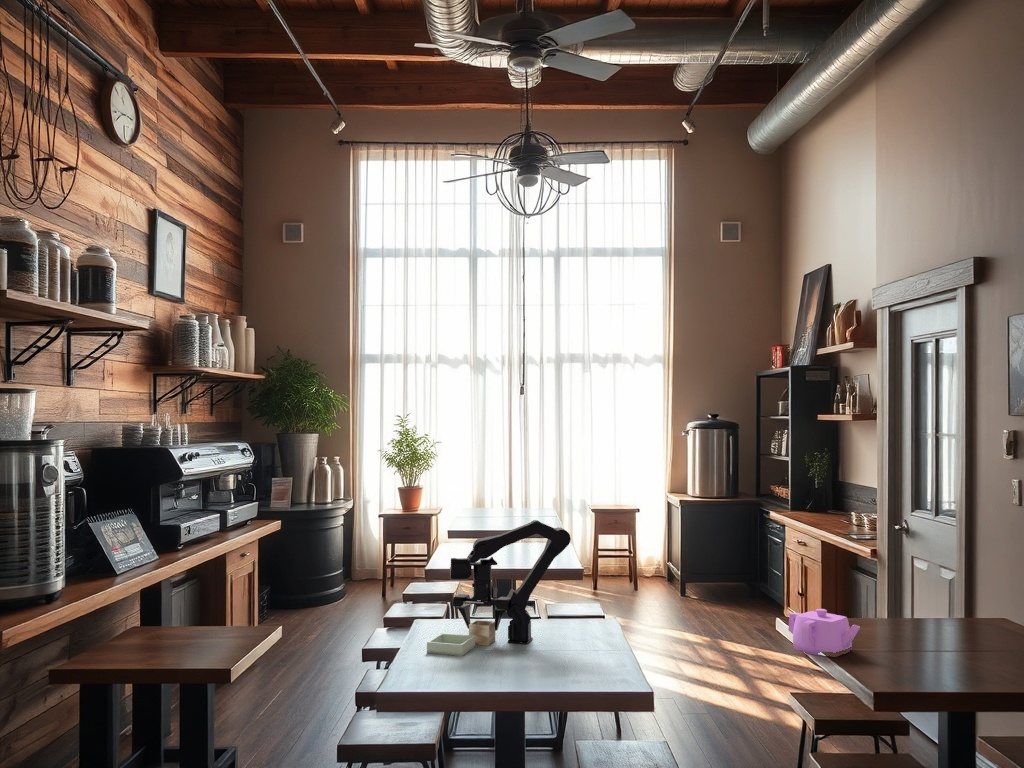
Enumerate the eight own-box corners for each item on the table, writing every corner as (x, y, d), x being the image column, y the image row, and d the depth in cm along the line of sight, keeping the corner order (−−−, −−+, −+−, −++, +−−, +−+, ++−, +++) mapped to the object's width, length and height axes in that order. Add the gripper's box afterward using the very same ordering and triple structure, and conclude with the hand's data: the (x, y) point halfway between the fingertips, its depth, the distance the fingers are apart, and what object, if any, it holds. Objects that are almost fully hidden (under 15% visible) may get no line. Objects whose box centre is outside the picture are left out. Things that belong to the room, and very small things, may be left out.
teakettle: (785, 643, 255) (785, 603, 256) (841, 643, 254) (840, 603, 255) (803, 658, 238) (802, 615, 239) (862, 659, 237) (861, 616, 238)
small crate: (495, 640, 259) (495, 621, 259) (488, 645, 253) (488, 626, 253) (476, 639, 261) (476, 619, 261) (468, 644, 255) (468, 624, 255)
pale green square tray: (475, 646, 252) (475, 635, 252) (461, 656, 241) (461, 645, 242) (441, 643, 255) (441, 633, 256) (426, 652, 245) (427, 642, 245)
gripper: (518, 576, 263) (518, 625, 262) (464, 573, 269) (464, 621, 268) (507, 582, 252) (507, 633, 251) (451, 579, 258) (451, 629, 257)
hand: (482, 629), depth 257 cm, fingers open, 9 cm apart
